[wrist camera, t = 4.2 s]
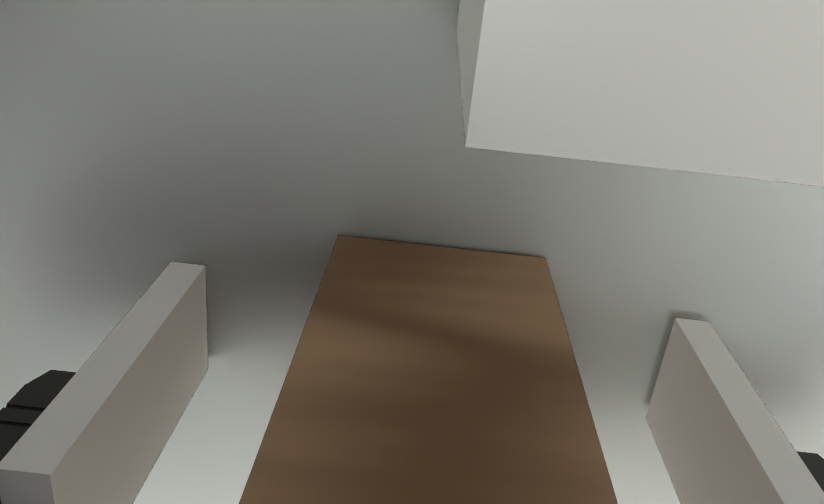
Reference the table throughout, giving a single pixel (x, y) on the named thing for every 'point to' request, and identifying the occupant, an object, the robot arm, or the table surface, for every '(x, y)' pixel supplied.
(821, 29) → the white rectangular block
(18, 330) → the table surface
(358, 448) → the walnut plug
